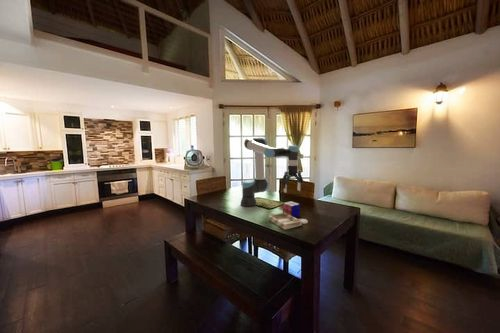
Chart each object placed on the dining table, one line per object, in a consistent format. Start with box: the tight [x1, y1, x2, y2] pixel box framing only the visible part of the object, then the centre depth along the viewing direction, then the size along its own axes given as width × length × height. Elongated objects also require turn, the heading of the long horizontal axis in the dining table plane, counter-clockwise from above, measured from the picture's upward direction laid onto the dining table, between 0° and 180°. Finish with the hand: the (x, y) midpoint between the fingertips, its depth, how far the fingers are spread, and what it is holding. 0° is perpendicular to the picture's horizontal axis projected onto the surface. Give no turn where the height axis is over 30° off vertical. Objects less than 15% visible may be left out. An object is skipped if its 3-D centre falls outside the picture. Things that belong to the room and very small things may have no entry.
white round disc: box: [298, 218, 309, 225], centre depth 160 cm, size 8×8×1 cm
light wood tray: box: [268, 212, 303, 230], centre depth 158 cm, size 20×15×3 cm
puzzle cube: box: [282, 200, 301, 218], centre depth 173 cm, size 10×10×10 cm
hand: (292, 191), depth 167 cm, fingers open, 13 cm apart
